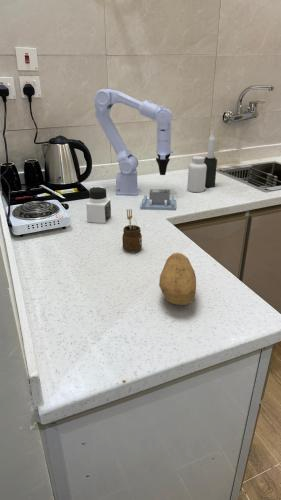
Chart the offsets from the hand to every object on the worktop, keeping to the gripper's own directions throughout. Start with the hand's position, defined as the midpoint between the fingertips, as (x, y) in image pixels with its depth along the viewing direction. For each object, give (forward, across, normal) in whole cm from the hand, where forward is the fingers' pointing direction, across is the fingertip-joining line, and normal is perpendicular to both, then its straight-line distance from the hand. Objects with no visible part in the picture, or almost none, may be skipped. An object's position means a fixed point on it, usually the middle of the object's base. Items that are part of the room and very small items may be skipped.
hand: (163, 172), depth 153 cm
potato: (+10, -79, -7) cm, 80 cm away
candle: (+10, +15, -21) cm, 28 cm away
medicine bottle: (+10, -31, +22) cm, 39 cm away
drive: (+9, -14, +1) cm, 17 cm away
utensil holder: (+10, -54, +7) cm, 55 cm away
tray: (+10, -14, +1) cm, 17 cm away
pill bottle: (+10, +8, -15) cm, 20 cm away
